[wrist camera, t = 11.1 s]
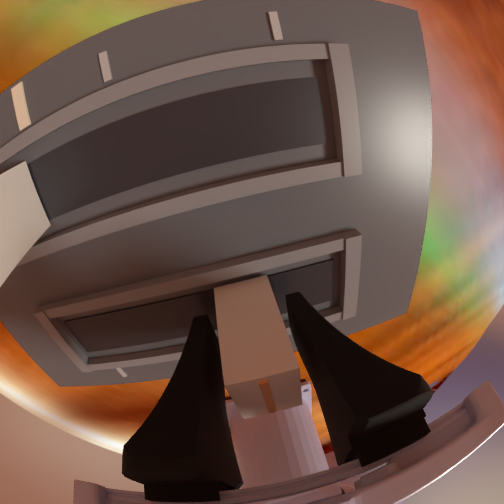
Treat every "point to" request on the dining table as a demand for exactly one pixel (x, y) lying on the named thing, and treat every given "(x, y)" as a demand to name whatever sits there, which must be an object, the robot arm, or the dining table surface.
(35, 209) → the fader
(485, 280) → the dining table surface
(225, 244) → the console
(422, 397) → the robot arm
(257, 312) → the fader
